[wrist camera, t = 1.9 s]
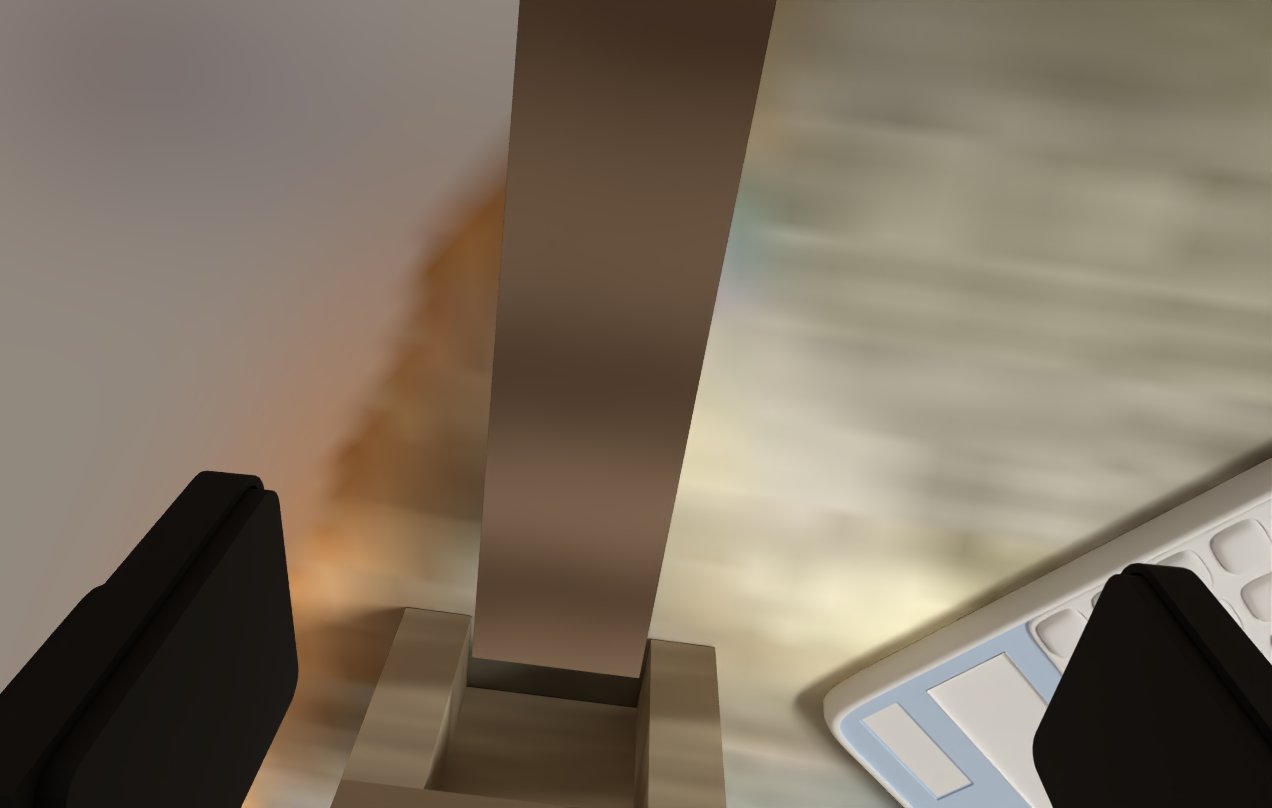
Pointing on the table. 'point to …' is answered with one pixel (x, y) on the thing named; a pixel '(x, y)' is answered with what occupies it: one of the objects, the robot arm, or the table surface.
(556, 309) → the walnut bar
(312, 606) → the table surface
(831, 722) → the calculator
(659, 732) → the maple block
